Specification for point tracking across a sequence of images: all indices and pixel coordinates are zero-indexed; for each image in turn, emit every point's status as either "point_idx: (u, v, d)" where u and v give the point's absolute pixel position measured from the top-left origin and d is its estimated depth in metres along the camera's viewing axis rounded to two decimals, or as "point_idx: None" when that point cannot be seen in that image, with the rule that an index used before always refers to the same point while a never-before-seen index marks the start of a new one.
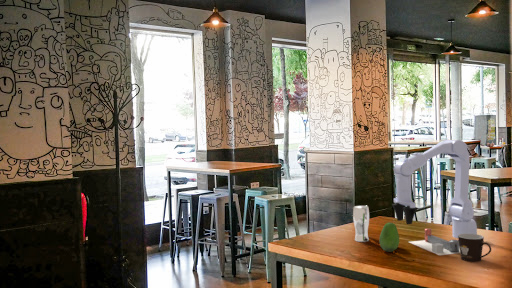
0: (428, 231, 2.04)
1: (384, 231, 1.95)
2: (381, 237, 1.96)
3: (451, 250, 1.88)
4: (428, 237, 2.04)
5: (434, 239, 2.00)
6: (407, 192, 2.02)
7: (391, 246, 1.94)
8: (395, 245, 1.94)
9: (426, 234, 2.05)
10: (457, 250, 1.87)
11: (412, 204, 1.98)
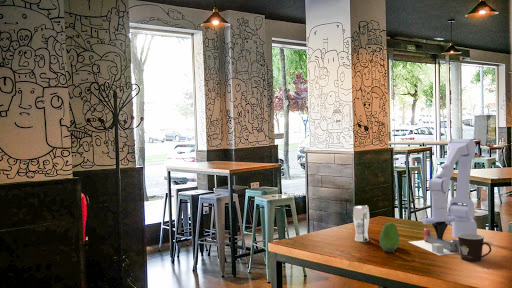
0: (427, 231, 2.04)
1: (384, 231, 1.95)
2: (381, 237, 1.96)
3: (451, 250, 1.88)
4: (427, 237, 2.04)
5: (433, 239, 2.00)
6: (433, 209, 1.98)
7: (391, 246, 1.94)
8: (395, 245, 1.94)
9: (425, 234, 2.05)
10: (457, 250, 1.87)
11: (423, 220, 1.98)
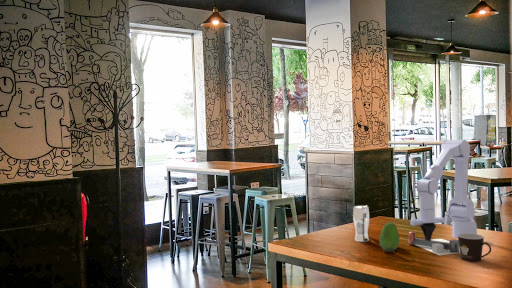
0: (413, 234, 2.00)
1: (384, 231, 1.95)
2: (381, 237, 1.96)
3: (454, 250, 1.87)
4: (414, 240, 1.99)
5: (424, 242, 1.96)
6: (421, 210, 1.97)
7: (391, 246, 1.94)
8: (395, 245, 1.94)
9: (411, 237, 2.00)
10: (459, 250, 1.87)
11: (411, 221, 1.96)
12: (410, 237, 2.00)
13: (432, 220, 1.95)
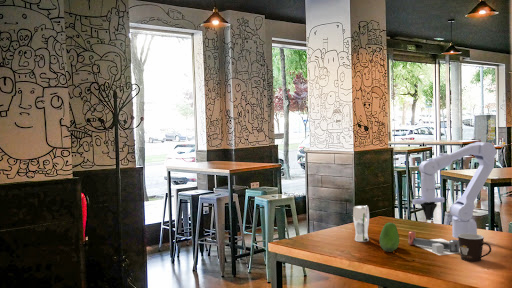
0: (413, 234, 2.00)
1: (384, 231, 1.95)
2: (381, 237, 1.96)
3: (454, 250, 1.87)
4: (414, 240, 1.99)
5: (424, 242, 1.96)
6: (422, 190, 2.10)
7: (391, 246, 1.94)
8: (395, 245, 1.94)
9: (411, 237, 2.00)
10: (459, 250, 1.87)
11: (413, 200, 2.10)
12: (410, 237, 2.00)
13: (433, 199, 2.08)
